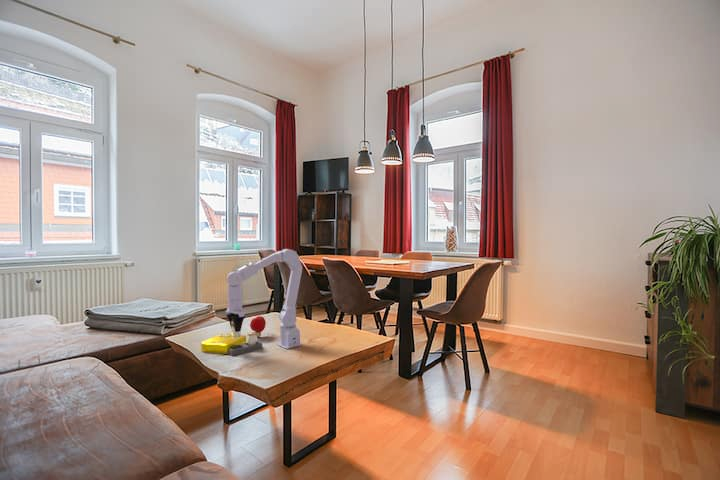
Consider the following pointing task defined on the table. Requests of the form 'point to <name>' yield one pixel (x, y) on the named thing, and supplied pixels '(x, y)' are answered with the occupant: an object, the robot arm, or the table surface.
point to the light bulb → (258, 325)
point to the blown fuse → (234, 334)
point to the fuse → (251, 338)
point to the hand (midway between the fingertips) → (236, 330)
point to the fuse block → (244, 348)
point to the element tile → (221, 343)
